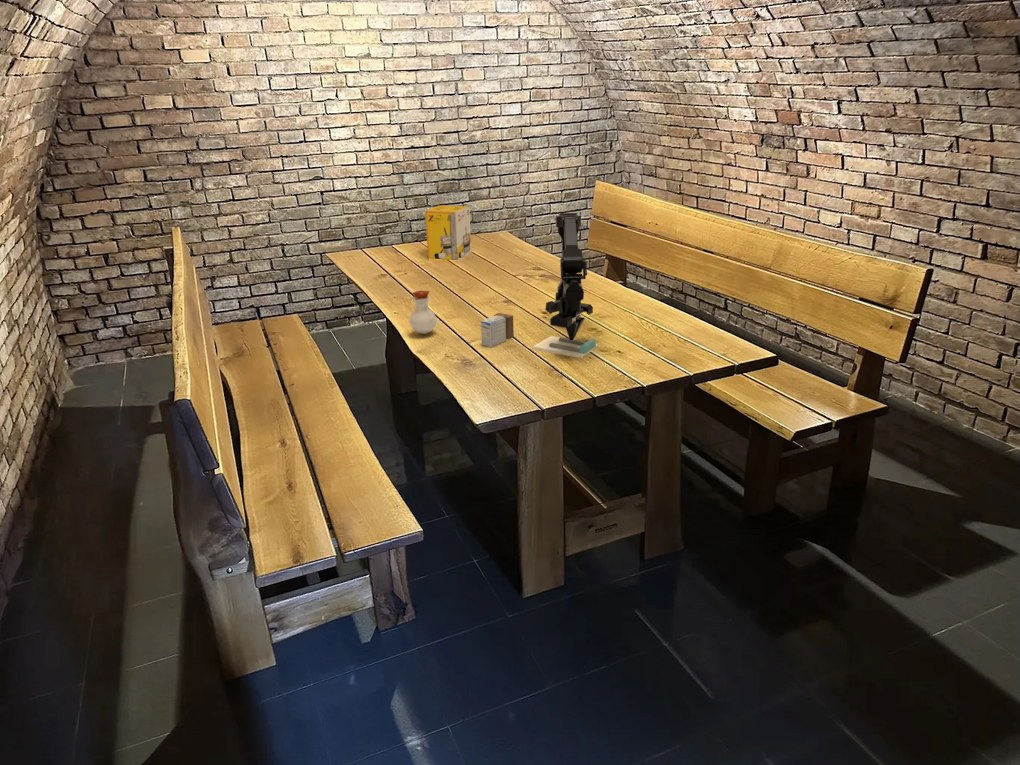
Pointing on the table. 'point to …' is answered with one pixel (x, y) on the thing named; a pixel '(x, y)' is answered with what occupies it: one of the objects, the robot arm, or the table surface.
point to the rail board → (566, 346)
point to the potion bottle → (422, 314)
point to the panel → (508, 324)
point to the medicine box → (493, 331)
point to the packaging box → (448, 232)
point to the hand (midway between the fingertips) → (571, 339)
